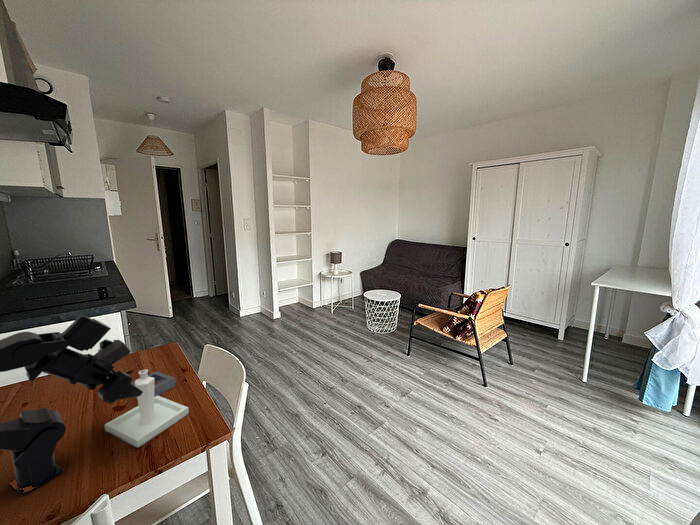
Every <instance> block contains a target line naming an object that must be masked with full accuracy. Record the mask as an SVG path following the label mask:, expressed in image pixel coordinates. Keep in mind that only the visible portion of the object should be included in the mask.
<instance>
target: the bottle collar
mask: <svg viewBox="0 0 700 525" xmlns="http://www.w3.org/2000/svg"><path fill="white" fill-rule="evenodd" d="M148 377H153V378H155V380H154V383H157V384H154V397H155V396H157V395H158V396H160V395H162V394H163V393H165V392H167V391H168V390H170V389H172V388H174V387H176V377H174V376H171V375H168V374H165V373H163V372H160V371H153V372H152V373H148ZM135 381H136V380H135ZM135 381H131V384H132V385H134V386H135ZM132 398H134V399H136V400H137V397H132Z"/></svg>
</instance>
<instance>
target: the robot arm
mask: <svg viewBox="0 0 700 525" xmlns="http://www.w3.org/2000/svg"><path fill="white" fill-rule="evenodd" d="M110 330H111V327H110V326H108V325H107V324H105V323H103V322H101V321H99V320H97V319H95V318H91V317H88V316H86V315H84V314H79V315H78V316H77V317H76V318H75V319H74V321H73V322H72V323H71V324H70V325H69V326H68V327H67V328H66V329H64V331H63V332H60V331H54V332H53V331H52V332H45V333H37V332H32V331H21V332H17V333H14V334H12V335H10V336H7V337H4V338H2V339H0V373H3V372H8V371H12V370H17V369H22V368H24V369H25V371H26V377H27V379H28V380H29V381H30V382H34V381H35V380H36V379H37V378H38V377H39V376H40V375H41V374H42V373H44V374H48V375H50V376H53V377H56V378H59V379H62V380H66V381H68V382H69V384H71V385H76V384H78V385H80V386H81V385H82V386H84V387H86V388H87V389H88V390H90V391H94V390H95V389H96V388H97V386H100V385H101V386H100V388H99V389H98V390H97V397H98V398H99V399H100V400H101V401H102V402H104V403H108V404H113V403H114V402H116V401H120V400H124V399H129V398H130V399H131V398H133V397H137V396H141V394H142V393H143V391H141V390H140V389H138V388H137V387H135V386H134V385H132V384H131V383H132V382H133V381H132V380H133V377H132V376H131V375H130V374H128V373H126V372H123V371H122V370H118V371H116V370H114V368H115V366H114V364H115V363H117V362H119V361H120V360H122V359H124V357H127V356H128V355H129V354H130V353H131V352H132V351H131V350H130V349H129V347H128V346H127V345H126V344H125V343H124V342H123V341H121V340H120V339H113V341H112V340H110V339H106V338H105V339H104V340H102V338H103V337H104V336H106V335H107V334H108V332H109V331H110ZM98 343H99V349H97V352H96V353H95V354H90V353H87V354H86V353H81V352H83V351H88V350H92V349H93V348H94V347H95V346H96V345H97V344H98ZM68 347H70V348H73V349H75V350H73V349H70V348H68ZM76 350H77V351H76ZM78 351H80V352H78ZM66 430H67V428H66V425H65V423H64V421H63V419H62V417H61V415H60V414H59V412H57V411H56V410H54V409H53V410H52V409H48V407H43V408H40V409H24V410H21V411H20V414H19V417H17V418H14V419H12V420H9V421H6V422H2V423H0V450H3V451H10V454H11V457H12V463H13V469H14V476H15V479H16V482H17V486H18V487H19V488H21V489H22V488H25V487H29V486H32V487H33V488H34V487H37V486H39V487H40V486H42V485H44V484H45V483H47V482H49V481H50V480H52V479H54V478H55V477H56V476H58V475H60V474H61V473H63V472H64V471H65V469H64V467H62V465H61V466H60V465H59V464H58V463H56V458H55V450H56V448H57V447H56V446H57V444H58V443H59V442H60V441H61V439H62V438H63V437H64V435H65V434H66ZM43 483H44V484H43ZM41 484H42V485H41ZM18 487H17V488H18ZM17 488H16V490H17V491H18V492H20V493H21V494H22V495H21V494H20V495H21V496H25V495H24V494H25V493H27V492H28V491H27V492H24V490H23V489H22V490H20V489H19V488H18V489H19V490H18V489H17ZM37 488H38V487H37ZM16 490H15V491H16ZM17 491H16V492H17ZM18 492H17V493H18ZM23 492H24V493H23ZM27 494H28V493H27Z"/></svg>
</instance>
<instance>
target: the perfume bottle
mask: <svg viewBox="0 0 700 525" xmlns="http://www.w3.org/2000/svg"><path fill="white" fill-rule="evenodd" d="M148 371H149V369H142V370H139V371H138V375H139V378H137V379H135V387H137V388H138V389H140V390H141V391H143V393H142V394H141V396H137V399H136V400H137V406H139V411H140V416H141V418H140V426H143V425H148V424H151V423H152V422H153V421H154V420H155V419H156V416H155V414H154V386H155V382H154V380H155V378H153V377H148V375H149V372H148Z"/></svg>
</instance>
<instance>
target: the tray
mask: <svg viewBox="0 0 700 525" xmlns="http://www.w3.org/2000/svg"><path fill="white" fill-rule="evenodd" d="M189 412H190V411H189V407H188V406H185V405H183V404H180V403H178V402H175V401H172V400H170V399H169V398H165V397H163V396H160V395H157V396H155V397H154V414H155V416H156V419H155V420H154V421H153V422H152V423H151V424H148V425H143V426H140V418H141V416H140V411H139V405H137V406H135V407H133V408H132V409H129V411H126V412H125V413H122V414H121V415H119V416H117V417H116V418H113V419H112V420H110V421H109V422H108V421H107V422H106V423H104V431H105V432H107V433H108V434H110V435H112V436H114V437H116V438H118V439H120V440H121V441H124V442H125V443H127V444H129V445H131V446H132V447H135V448H137V449H138V448H140V447H142V446H143V445H145V444H146V443H148V442H150V440H152V439H154V438H155V437H156V436H158V435H160V434H161V433H163V432H164V431H165V430H167V429H168V428H170V427H171V426H173V425H174V424H176V423H177V422H179V421H180V420H181V419H183V418H185V417H186V416H188V415H189V414H190V413H189Z"/></svg>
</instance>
